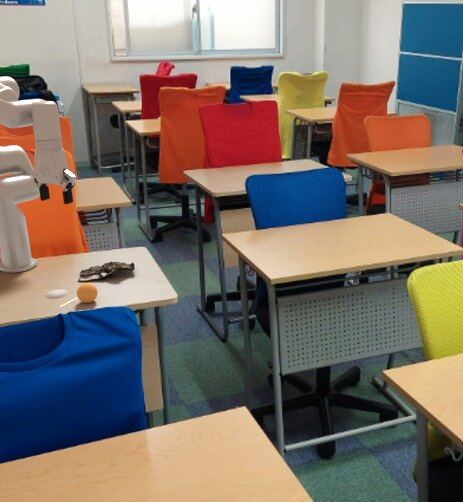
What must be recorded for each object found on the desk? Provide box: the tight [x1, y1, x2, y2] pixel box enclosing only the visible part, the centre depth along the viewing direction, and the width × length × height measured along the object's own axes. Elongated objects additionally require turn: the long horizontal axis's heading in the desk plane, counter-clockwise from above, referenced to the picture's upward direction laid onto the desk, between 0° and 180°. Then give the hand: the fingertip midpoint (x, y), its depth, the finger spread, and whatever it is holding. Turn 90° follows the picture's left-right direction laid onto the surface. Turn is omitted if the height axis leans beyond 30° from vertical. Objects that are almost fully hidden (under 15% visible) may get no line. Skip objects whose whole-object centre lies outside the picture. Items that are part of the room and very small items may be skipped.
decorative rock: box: [78, 261, 136, 282], centre depth 205 cm, size 19×6×15 cm
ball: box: [76, 282, 98, 304], centre depth 183 cm, size 6×6×6 cm
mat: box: [44, 288, 79, 308], centre depth 188 cm, size 20×16×1 cm
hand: (56, 201), depth 186 cm, fingers open, 9 cm apart
